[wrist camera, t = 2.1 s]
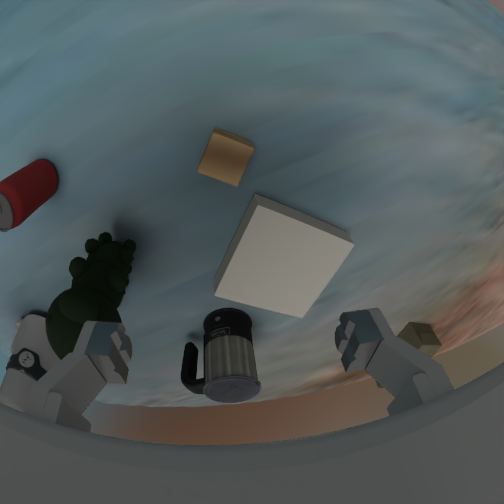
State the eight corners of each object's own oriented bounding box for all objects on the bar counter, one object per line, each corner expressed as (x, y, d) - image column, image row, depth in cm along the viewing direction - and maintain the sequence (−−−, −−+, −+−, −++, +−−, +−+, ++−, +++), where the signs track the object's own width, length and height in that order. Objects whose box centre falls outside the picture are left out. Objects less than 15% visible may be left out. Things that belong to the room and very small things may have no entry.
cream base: (297, 302, 50) (302, 318, 46) (214, 279, 45) (213, 295, 42) (345, 231, 42) (354, 244, 39) (254, 193, 38) (257, 204, 34)
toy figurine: (157, 220, 38) (104, 369, 17) (138, 308, 47) (110, 434, 26) (100, 203, 36) (8, 330, 15) (92, 293, 44) (48, 412, 24)
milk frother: (230, 299, 48) (234, 370, 35) (281, 338, 55) (294, 400, 43) (177, 333, 52) (171, 398, 39) (230, 365, 59) (234, 423, 47)
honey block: (235, 174, 36) (237, 186, 32) (200, 161, 34) (196, 172, 30) (250, 141, 34) (254, 148, 29) (214, 127, 32) (213, 132, 28)
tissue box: (390, 365, 70) (408, 407, 57) (368, 366, 68) (386, 412, 55) (429, 323, 61) (456, 366, 48) (409, 320, 59) (437, 369, 45)
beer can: (54, 153, 30) (5, 182, 20) (64, 193, 34) (21, 232, 24) (25, 163, 30) (-22, 194, 20) (35, 201, 33) (-6, 238, 23)
